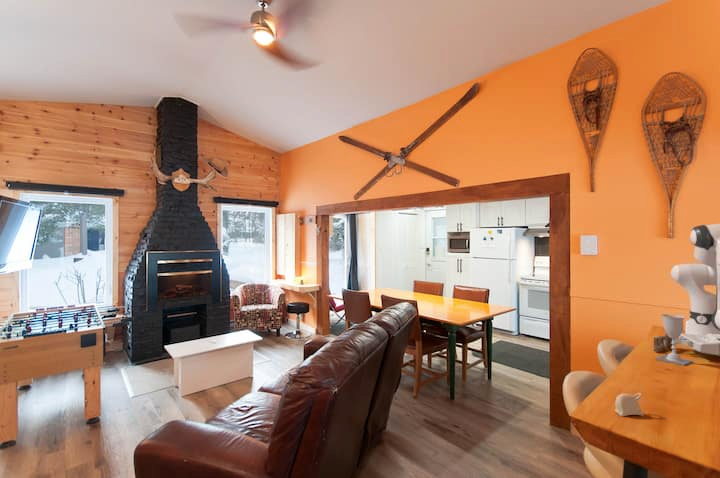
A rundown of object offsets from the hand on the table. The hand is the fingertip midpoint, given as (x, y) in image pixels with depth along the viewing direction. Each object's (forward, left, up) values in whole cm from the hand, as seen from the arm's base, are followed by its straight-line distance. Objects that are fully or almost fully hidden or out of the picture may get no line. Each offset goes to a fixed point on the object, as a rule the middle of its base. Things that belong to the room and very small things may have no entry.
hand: (673, 340), depth 153 cm
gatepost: (-9, -4, -6) cm, 11 cm away
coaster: (+14, +4, -6) cm, 15 cm away
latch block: (-1, -6, -6) cm, 8 cm away
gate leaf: (0, -4, -5) cm, 7 cm away
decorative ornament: (+83, +17, -6) cm, 85 cm away
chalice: (+14, +4, -5) cm, 15 cm away
